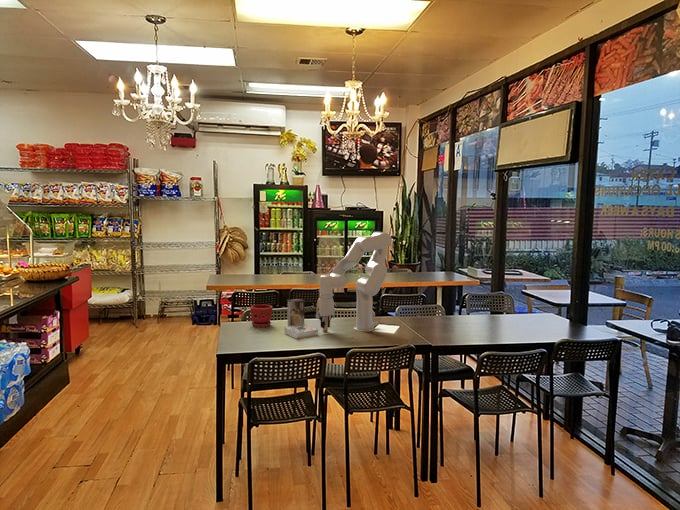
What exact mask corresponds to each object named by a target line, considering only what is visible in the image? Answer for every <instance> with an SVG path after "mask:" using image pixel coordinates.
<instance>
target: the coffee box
mask: <svg viewBox="0 0 680 510" xmlns="http://www.w3.org/2000/svg"><path fill="white" fill-rule="evenodd" d="M303 324H305V300H304V299H302V298H296V299H292V298H291V299H287V327H290V326H296V325H303Z"/></svg>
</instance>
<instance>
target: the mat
mask: <svg viewBox="0 0 680 510" xmlns="http://www.w3.org/2000/svg"><path fill="white" fill-rule="evenodd" d="M333 333H336V331H333V330H331V329H329V328H328V332H327V333H324V332H323V328H321V329H318V335H321V336H322V335H323V336H325V335H329V334H333Z"/></svg>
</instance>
